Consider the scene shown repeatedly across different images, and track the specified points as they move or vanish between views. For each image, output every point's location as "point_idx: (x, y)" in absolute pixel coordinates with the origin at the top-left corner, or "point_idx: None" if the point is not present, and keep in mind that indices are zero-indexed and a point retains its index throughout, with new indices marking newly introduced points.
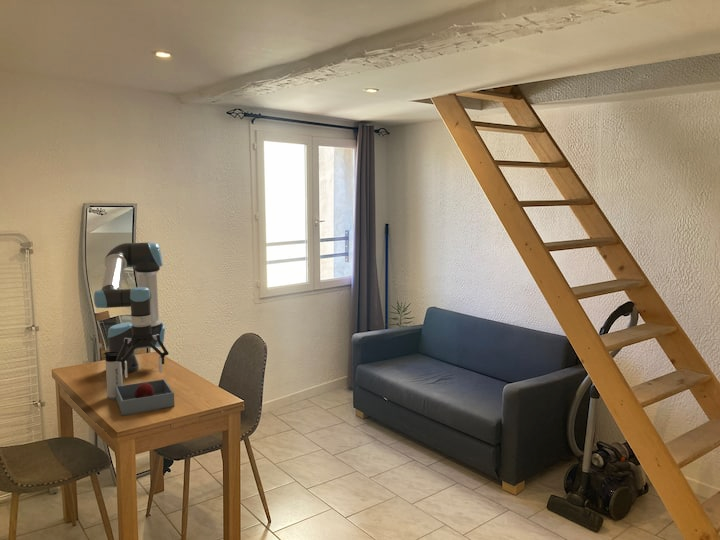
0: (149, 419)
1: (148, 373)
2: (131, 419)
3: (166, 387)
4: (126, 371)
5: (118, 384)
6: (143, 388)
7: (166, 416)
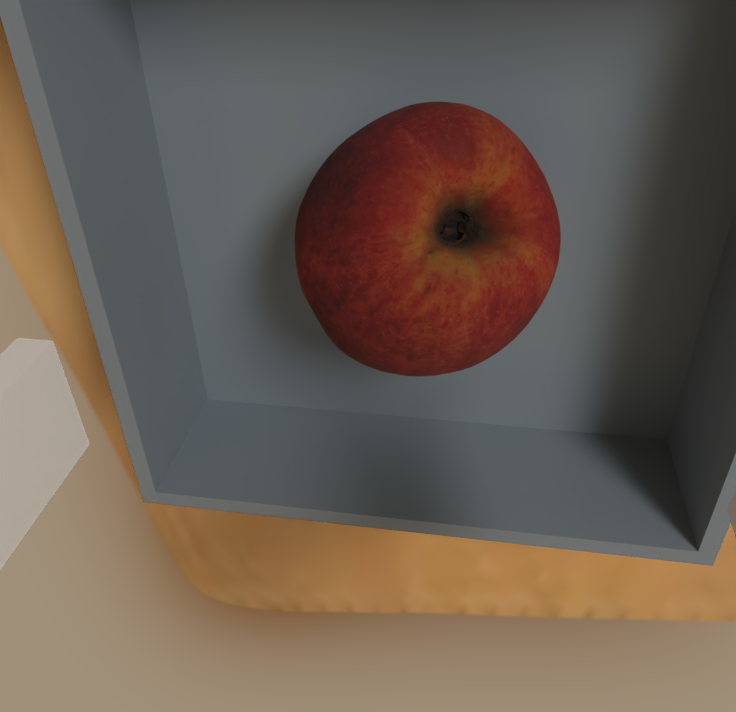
0: (395, 556)
1: None
2: None
3: None
4: (2, 544)
5: None
6: (389, 367)
7: (525, 573)
